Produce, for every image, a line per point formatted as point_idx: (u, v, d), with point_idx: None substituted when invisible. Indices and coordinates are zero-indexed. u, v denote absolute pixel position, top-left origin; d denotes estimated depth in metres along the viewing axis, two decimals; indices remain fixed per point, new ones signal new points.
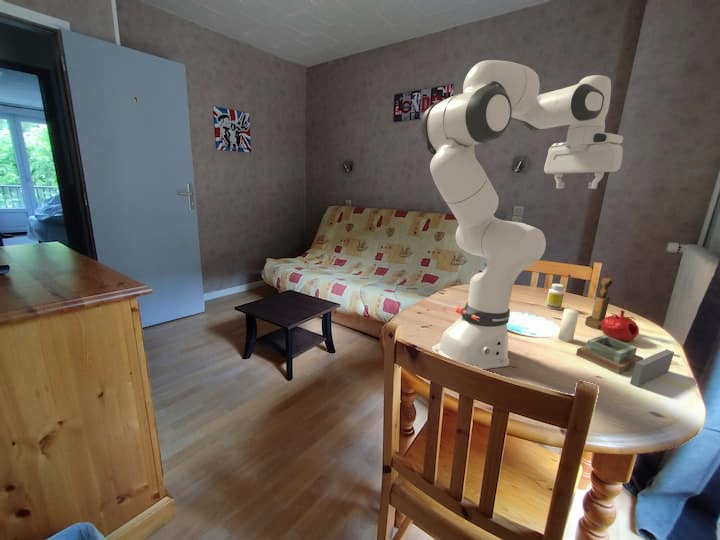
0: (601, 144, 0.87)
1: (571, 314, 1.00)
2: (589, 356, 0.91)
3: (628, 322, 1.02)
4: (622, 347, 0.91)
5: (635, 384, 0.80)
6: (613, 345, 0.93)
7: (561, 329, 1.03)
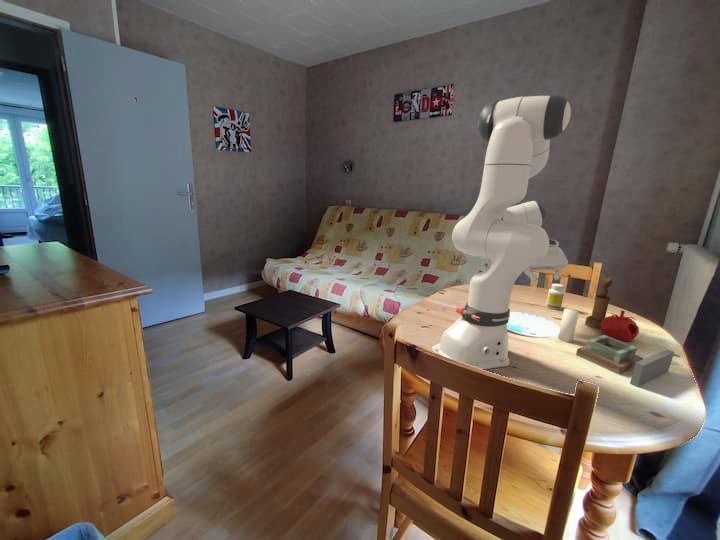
0: (554, 247, 1.16)
1: (571, 314, 1.00)
2: (589, 356, 0.91)
3: (628, 322, 1.02)
4: (622, 347, 0.91)
5: (635, 384, 0.80)
6: (613, 345, 0.93)
7: (561, 329, 1.03)
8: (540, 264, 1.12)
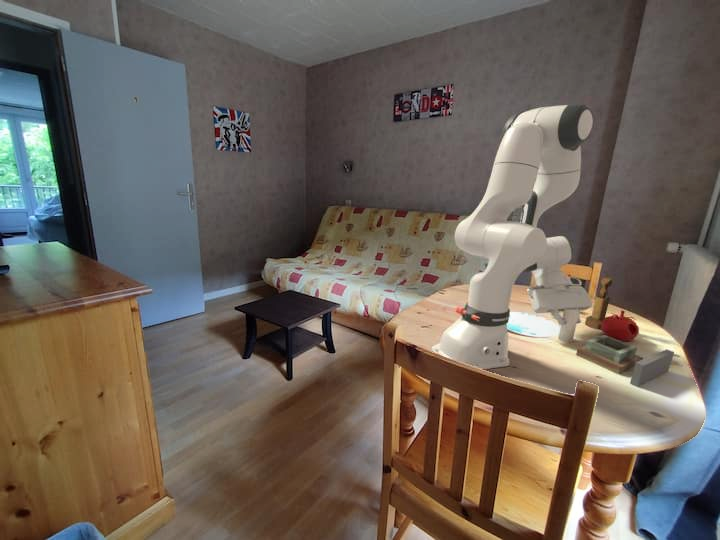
0: (576, 286, 1.06)
1: (571, 314, 1.00)
2: (589, 356, 0.91)
3: (628, 322, 1.02)
4: (622, 347, 0.91)
5: (635, 384, 0.80)
6: (613, 345, 0.93)
7: (561, 329, 1.03)
8: (563, 306, 1.02)
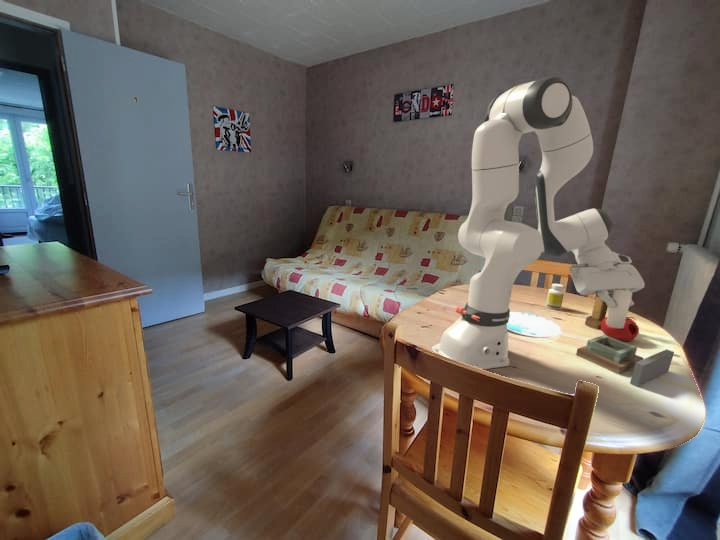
0: (626, 264, 0.92)
1: (624, 295, 0.86)
2: (589, 356, 0.91)
3: (628, 322, 1.02)
4: (622, 347, 0.91)
5: (635, 384, 0.80)
6: (613, 345, 0.93)
7: (610, 313, 0.89)
8: (613, 286, 0.89)
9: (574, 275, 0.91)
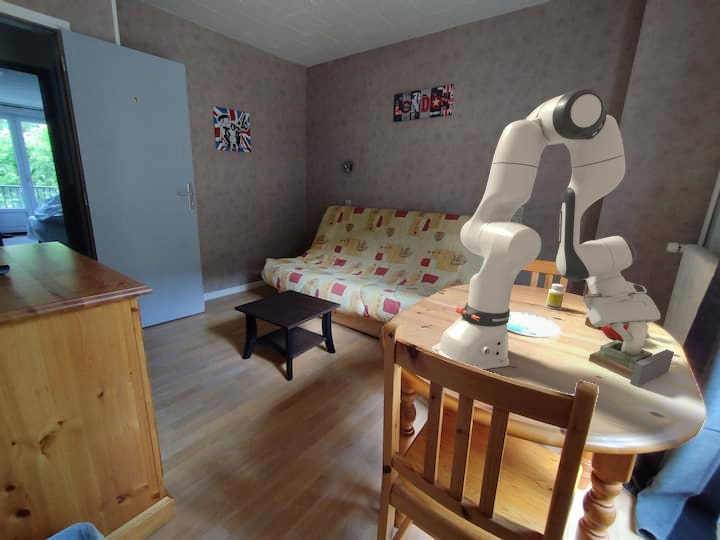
0: (641, 294, 0.90)
1: (640, 329, 0.83)
2: (602, 362, 0.88)
3: None
4: None
5: (635, 384, 0.80)
6: None
7: (625, 345, 0.87)
8: (628, 318, 0.86)
9: (588, 306, 0.88)
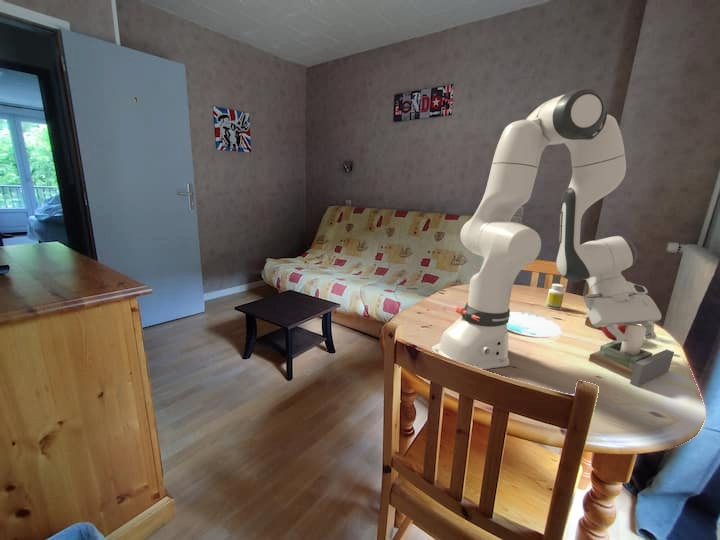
0: (642, 294, 0.90)
1: (638, 330, 0.84)
2: (602, 362, 0.88)
3: None
4: None
5: (635, 384, 0.80)
6: None
7: (623, 348, 0.87)
8: (628, 319, 0.86)
9: (588, 306, 0.88)
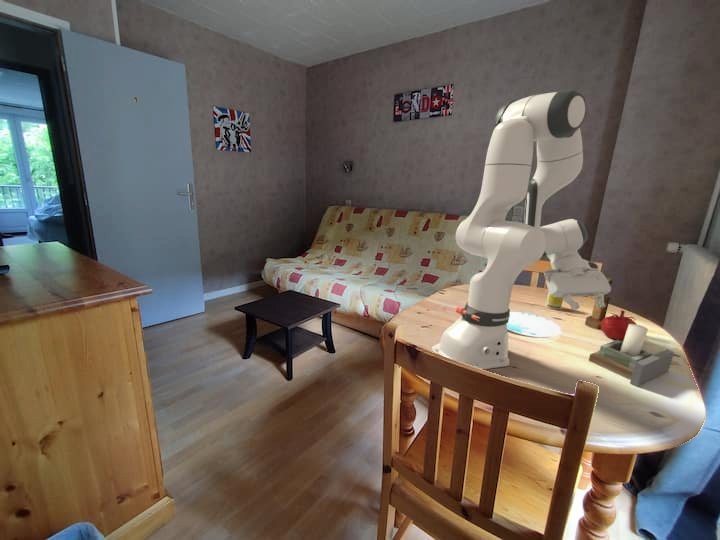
0: (595, 270, 1.03)
1: (639, 331, 0.84)
2: (602, 362, 0.88)
3: (628, 322, 1.02)
4: None
5: (635, 384, 0.80)
6: None
7: (623, 348, 0.87)
8: (581, 290, 0.99)
9: (547, 279, 1.01)
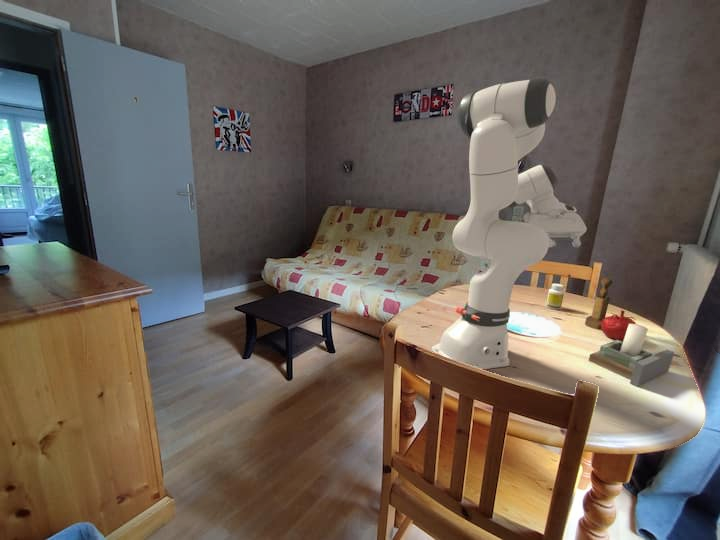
0: (571, 212, 1.08)
1: (638, 330, 0.84)
2: (602, 362, 0.88)
3: (628, 322, 1.02)
4: None
5: (635, 384, 0.80)
6: None
7: (623, 347, 0.87)
8: (558, 230, 1.05)
9: (526, 221, 1.07)
